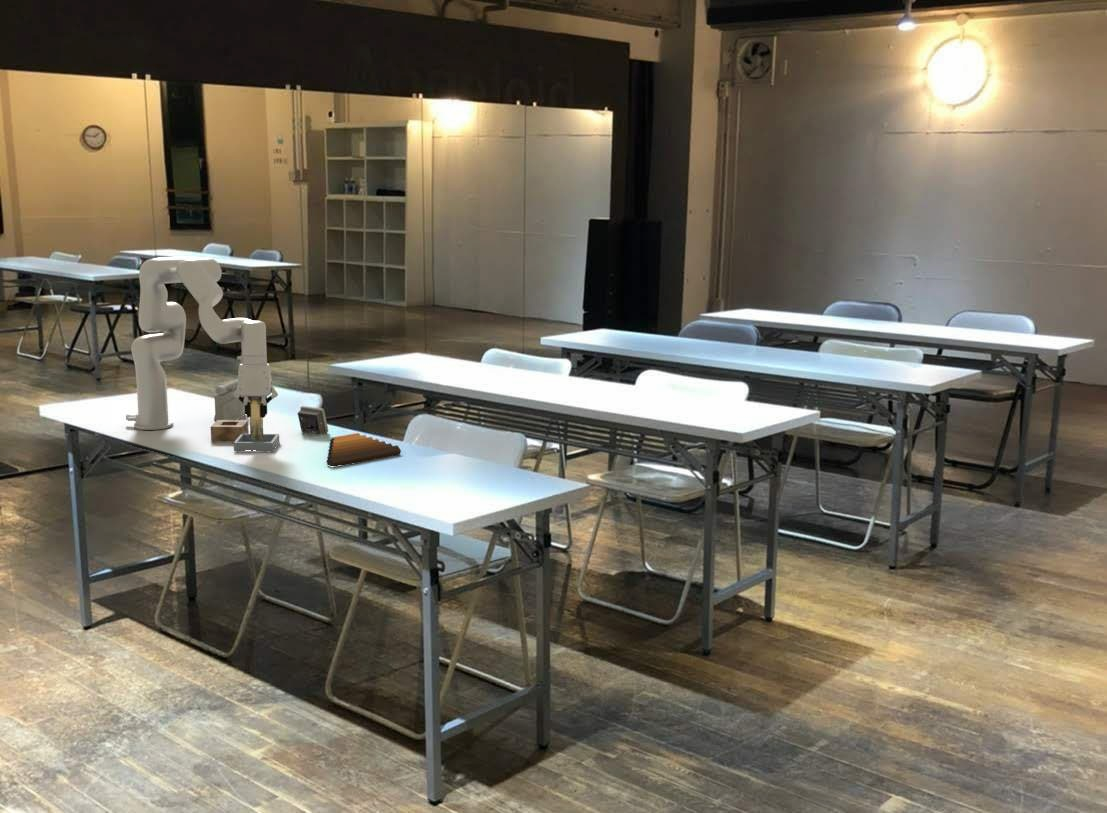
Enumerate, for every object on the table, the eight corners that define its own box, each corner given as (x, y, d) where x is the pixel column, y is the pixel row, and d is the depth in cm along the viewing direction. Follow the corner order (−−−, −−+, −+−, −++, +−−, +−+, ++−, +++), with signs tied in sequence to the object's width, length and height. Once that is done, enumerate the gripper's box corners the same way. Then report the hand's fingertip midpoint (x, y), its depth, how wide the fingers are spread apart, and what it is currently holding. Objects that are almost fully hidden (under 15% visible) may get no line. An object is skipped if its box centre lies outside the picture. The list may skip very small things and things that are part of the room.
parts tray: (233, 451, 325) (233, 442, 324) (241, 442, 336) (241, 433, 336) (272, 452, 326) (272, 442, 325) (279, 442, 337) (279, 433, 337)
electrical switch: (329, 433, 353) (327, 407, 350) (320, 437, 348) (318, 411, 345) (306, 430, 356) (304, 404, 354) (297, 434, 352) (294, 408, 349)
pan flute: (333, 469, 310) (400, 456, 327) (332, 458, 309) (400, 446, 326) (289, 453, 327) (356, 441, 344) (289, 443, 326) (355, 431, 343)
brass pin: (249, 439, 328) (247, 396, 325) (251, 436, 332) (250, 394, 329) (262, 439, 329) (260, 396, 326) (264, 437, 333) (263, 394, 330)
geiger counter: (233, 376, 374) (204, 389, 350) (250, 377, 374) (222, 390, 350) (235, 414, 377) (206, 429, 353) (252, 414, 377) (224, 430, 352)
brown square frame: (211, 441, 336) (210, 426, 335) (218, 434, 346) (217, 419, 345) (242, 441, 337) (242, 426, 336) (248, 434, 347) (248, 420, 346)
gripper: (224, 361, 321) (226, 419, 325) (279, 362, 322) (281, 419, 326) (229, 357, 328) (231, 414, 332) (283, 358, 330) (284, 414, 333)
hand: (256, 416), depth 329 cm, fingers closed on brass pin, 4 cm apart
